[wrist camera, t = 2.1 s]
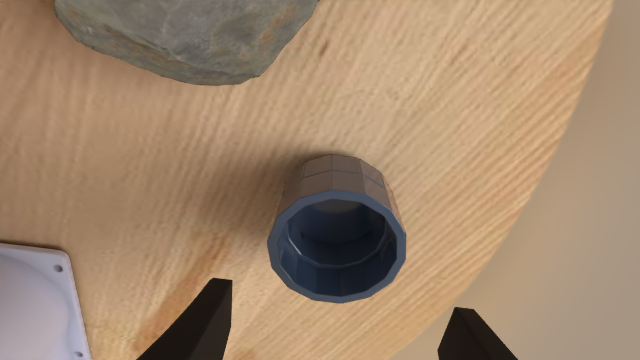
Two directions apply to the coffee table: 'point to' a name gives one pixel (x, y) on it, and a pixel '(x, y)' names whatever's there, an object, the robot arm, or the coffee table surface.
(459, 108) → the coffee table surface
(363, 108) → the coffee table surface
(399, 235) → the bowl
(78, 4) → the stone
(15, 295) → the robot arm
